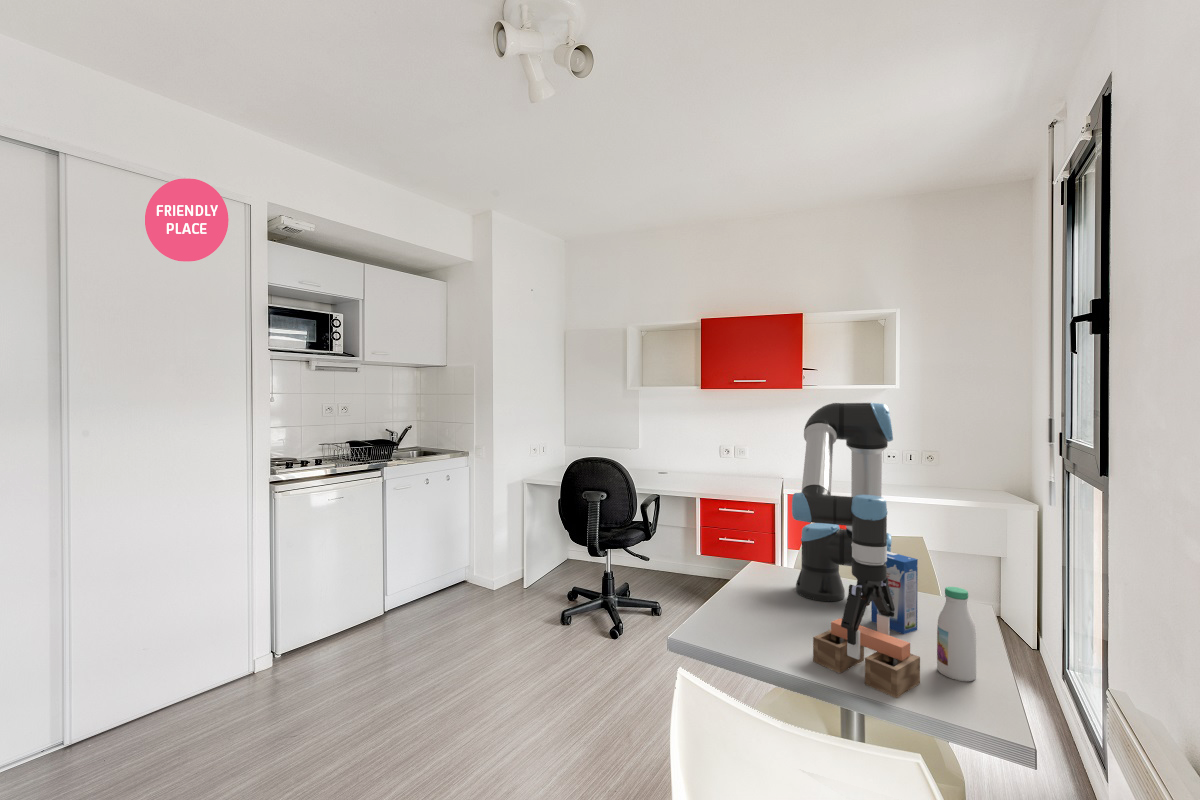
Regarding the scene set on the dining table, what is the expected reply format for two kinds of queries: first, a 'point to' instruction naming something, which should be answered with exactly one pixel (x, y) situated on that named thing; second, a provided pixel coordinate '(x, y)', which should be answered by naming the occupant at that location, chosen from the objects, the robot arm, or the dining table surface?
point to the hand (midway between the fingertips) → (868, 649)
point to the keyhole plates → (868, 665)
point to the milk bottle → (956, 637)
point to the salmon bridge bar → (875, 641)
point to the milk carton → (901, 592)
